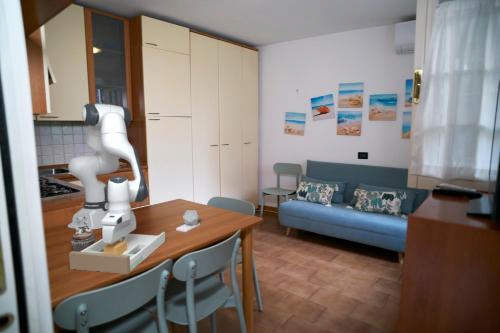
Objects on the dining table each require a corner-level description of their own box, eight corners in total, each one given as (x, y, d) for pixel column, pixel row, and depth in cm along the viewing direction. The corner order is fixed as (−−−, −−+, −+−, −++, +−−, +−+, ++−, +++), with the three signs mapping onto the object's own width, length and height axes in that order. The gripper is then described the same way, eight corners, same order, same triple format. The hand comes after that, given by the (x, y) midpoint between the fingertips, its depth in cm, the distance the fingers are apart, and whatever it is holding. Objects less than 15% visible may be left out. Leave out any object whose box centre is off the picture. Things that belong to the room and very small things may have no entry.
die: (191, 229, 171) (201, 213, 173) (177, 220, 172) (188, 205, 174) (193, 230, 179) (203, 215, 181) (180, 221, 180) (190, 206, 182)
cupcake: (69, 248, 142) (67, 227, 141) (91, 243, 149) (90, 222, 148) (75, 255, 136) (74, 232, 134) (99, 248, 142) (97, 227, 141)
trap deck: (70, 269, 123) (68, 253, 122) (119, 237, 156) (118, 225, 155) (127, 274, 119) (126, 257, 118) (165, 241, 152) (164, 228, 151)
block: (103, 256, 129) (103, 246, 128) (114, 249, 136) (113, 240, 135) (117, 257, 128) (117, 247, 127) (127, 250, 135) (126, 241, 135)
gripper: (126, 208, 145) (127, 237, 147) (98, 222, 125) (100, 255, 126) (139, 208, 144) (140, 238, 146) (113, 222, 124) (115, 256, 126)
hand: (121, 246), depth 136 cm, fingers closed
